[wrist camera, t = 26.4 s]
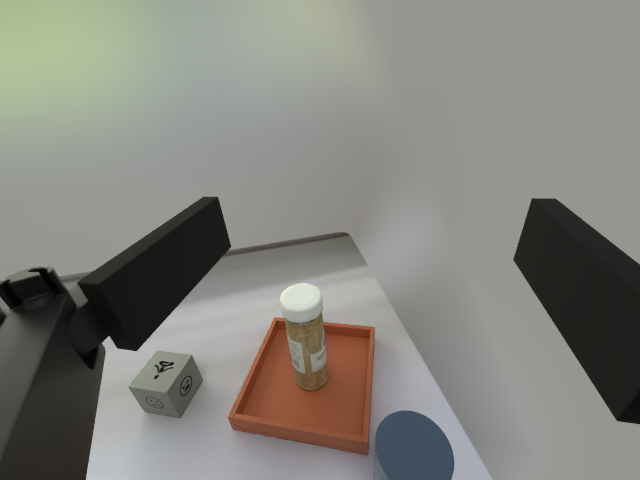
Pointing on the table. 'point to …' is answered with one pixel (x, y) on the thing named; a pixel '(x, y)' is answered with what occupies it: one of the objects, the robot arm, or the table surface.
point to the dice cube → (167, 384)
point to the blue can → (411, 449)
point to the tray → (305, 405)
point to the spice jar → (305, 334)
